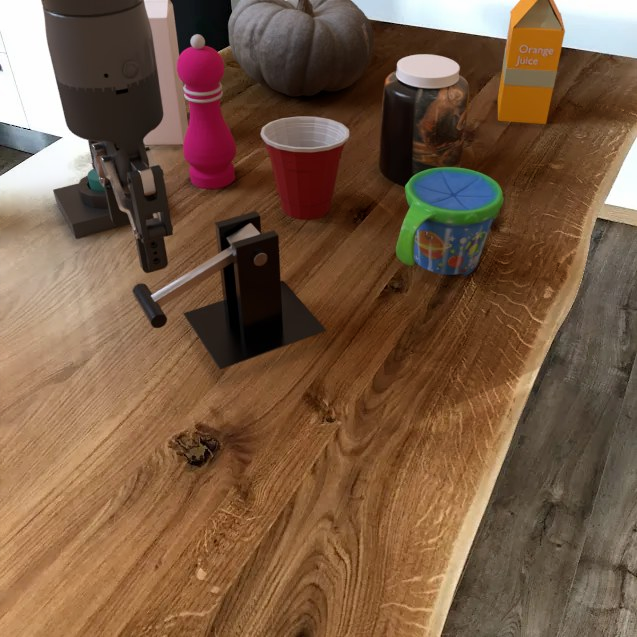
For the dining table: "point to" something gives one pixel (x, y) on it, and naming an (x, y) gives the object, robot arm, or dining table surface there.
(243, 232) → the lever
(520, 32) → the orange juice
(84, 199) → the control block
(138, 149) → the robot arm
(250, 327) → the bracket
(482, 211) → the snack cup
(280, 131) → the plastic cup
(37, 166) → the dining table surface
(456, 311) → the dining table surface
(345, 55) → the gourd
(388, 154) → the jar
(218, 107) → the pepper mill
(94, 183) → the button
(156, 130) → the milk
